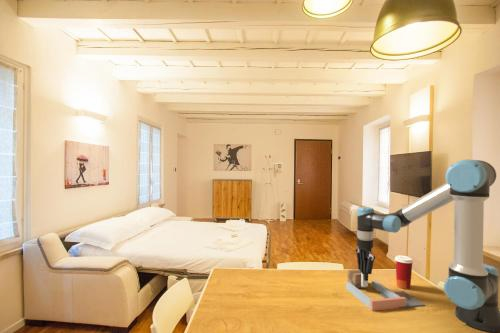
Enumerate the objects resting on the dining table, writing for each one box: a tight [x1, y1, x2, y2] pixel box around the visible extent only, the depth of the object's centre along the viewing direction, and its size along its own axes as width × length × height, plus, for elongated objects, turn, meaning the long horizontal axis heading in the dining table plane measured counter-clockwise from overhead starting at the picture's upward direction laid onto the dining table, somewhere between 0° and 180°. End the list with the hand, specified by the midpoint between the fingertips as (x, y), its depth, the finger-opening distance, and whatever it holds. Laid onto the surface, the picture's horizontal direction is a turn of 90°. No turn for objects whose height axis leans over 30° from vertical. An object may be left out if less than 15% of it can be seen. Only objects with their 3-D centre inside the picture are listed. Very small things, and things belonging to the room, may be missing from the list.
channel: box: [345, 280, 406, 312], centre depth 130 cm, size 22×16×4 cm
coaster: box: [379, 290, 425, 309], centre depth 128 cm, size 13×13×1 cm
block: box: [347, 268, 369, 290], centre depth 143 cm, size 7×7×7 cm
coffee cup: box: [394, 255, 414, 290], centre depth 142 cm, size 8×8×15 cm
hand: (364, 286), depth 137 cm, fingers closed
